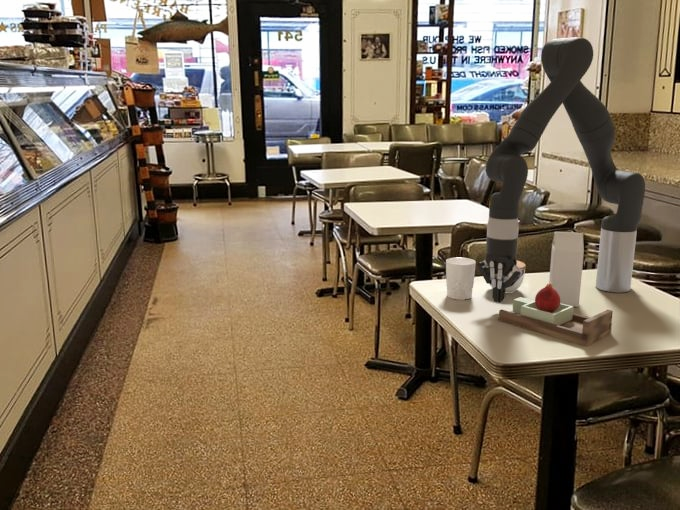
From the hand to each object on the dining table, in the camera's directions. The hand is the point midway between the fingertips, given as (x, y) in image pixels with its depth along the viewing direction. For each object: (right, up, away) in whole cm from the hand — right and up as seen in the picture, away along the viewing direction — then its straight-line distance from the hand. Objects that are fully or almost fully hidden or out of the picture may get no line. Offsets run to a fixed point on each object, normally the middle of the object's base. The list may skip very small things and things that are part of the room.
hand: (498, 301), depth 172 cm
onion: (+9, -3, -9) cm, 14 cm away
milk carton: (+19, -1, +8) cm, 21 cm away
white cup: (-8, 0, +13) cm, 15 cm away
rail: (+11, -5, -11) cm, 16 cm away
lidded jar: (+6, +2, +19) cm, 20 cm away
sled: (+8, -3, -8) cm, 12 cm away
